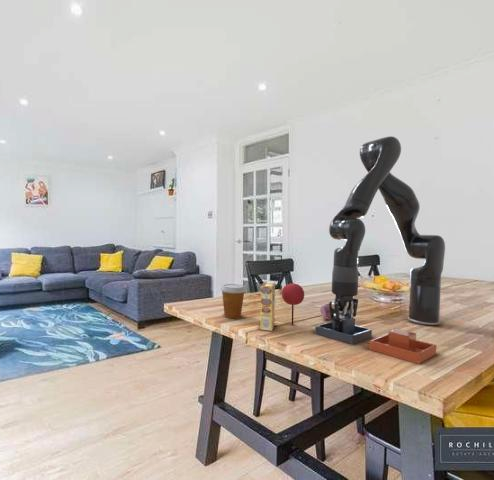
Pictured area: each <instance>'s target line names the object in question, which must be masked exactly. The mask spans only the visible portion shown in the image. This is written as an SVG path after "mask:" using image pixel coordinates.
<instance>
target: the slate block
mask: <svg viewBox="0 0 494 480" xmlns="http://www.w3.org/2000/svg"><path fill="white" fill-rule="evenodd" d="M340 316H341V315H340ZM331 322H332V330H335V321H334V320H332V319H331ZM355 325H356V318H355V317H353V318H350V317H345V316H344V318H343V329H342V333H346V334H349V335H353V334H355Z"/></svg>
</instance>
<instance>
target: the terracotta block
mask: <svg viewBox="0 0 494 480" xmlns="http://www.w3.org/2000/svg"><path fill="white" fill-rule="evenodd" d="M388 334H389V345H390V346H394V347H398V348H401V349H405V350H409V351H412V352H414V351H416V340H417V333H416V332H413V331H408V330H403V329H399V328H395V329H392V330H389V331H388Z"/></svg>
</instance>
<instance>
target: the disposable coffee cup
mask: <svg viewBox="0 0 494 480" xmlns="http://www.w3.org/2000/svg"><path fill="white" fill-rule="evenodd" d="M220 290H221V292H222V293H221V294H222V304H223V314H224V317H225V318H229V319H239V318H241V317H242V311H243V310H242V309H243V304H244V296H245V292H246V288H245V285H244V284H237V283H225V284H222V285H221V288H220Z"/></svg>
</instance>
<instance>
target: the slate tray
mask: <svg viewBox="0 0 494 480" xmlns="http://www.w3.org/2000/svg"><path fill="white" fill-rule="evenodd" d="M314 331H315V335H319V336H323V337H325V338H329V339H332V340H336V341H340V342H342V343H345V344H350V345H355V344H358V343H360V342H363V341H366V340H368V339H370V338H372V337H373V329H372V328H368V327H363V326H360V325H357V324H355V334H353V335H349V334H346V333H342V332H338V331H335V330H332V321H329V322H325V323H321V324H318V325H315V329H314Z"/></svg>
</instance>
